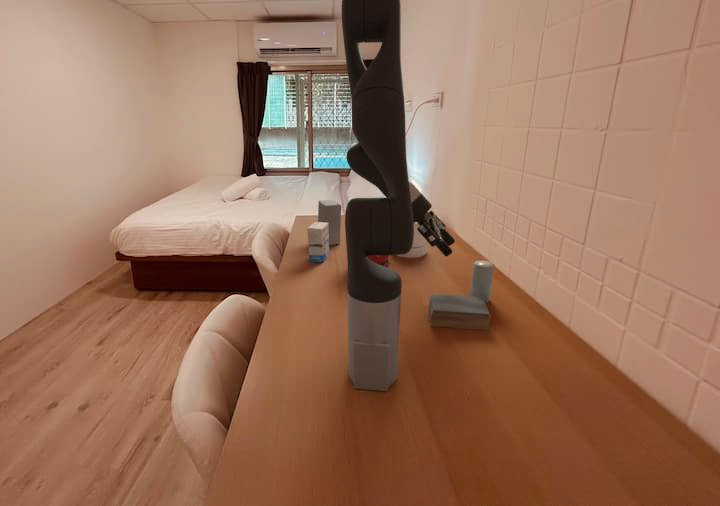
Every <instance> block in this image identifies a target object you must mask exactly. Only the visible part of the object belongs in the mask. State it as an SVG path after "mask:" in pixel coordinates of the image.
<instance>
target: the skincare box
mask: <svg viewBox="0 0 720 506" xmlns="http://www.w3.org/2000/svg"><path fill="white" fill-rule="evenodd" d="M317 204H318V208H317V209H318V210H317V211H318V214H317V218H318V220H317V222H324V223H328V231H329V247H330V246H337V245H336V244H338V245H340V244H341V225H342V222H341V220H342V205H341V204H340V203H339V202H338V201H336V200H334V199H323V200H322V199H321V200H318V203H317Z"/></svg>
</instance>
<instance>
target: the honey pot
mask: <svg viewBox="0 0 720 506" xmlns="http://www.w3.org/2000/svg"><path fill="white" fill-rule="evenodd" d="M418 227H419V224H418V223H417V222H415V223H414V238H413V244H412V248H411V250H410V251H409V252H408V253H406V254H402V255H395V256H397V257H401V258H407V259H408V258H411V259H412V258H413V259H414V258H421V257H423V256H425V255H426V254H427V251H428V250H427V249H428V248H427V247H428V242H427V240H426V239H425V238H424V237H423V236H422V235H421V234H420V232H419V231H418V230H417V228H418Z"/></svg>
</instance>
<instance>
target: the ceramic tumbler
mask: <svg viewBox="0 0 720 506" xmlns="http://www.w3.org/2000/svg"><path fill="white" fill-rule="evenodd" d="M472 266H473V267H472V275H471V282H470V283H471V285H470V292H469V293H470V294H469V296H476V297H483V299H484V301H485V304H488V303H490V300H491V292H492V285H493V278H494V269H495V264H494V263H493V262H492V261H488V260H475V261H474V262H473V265H472Z"/></svg>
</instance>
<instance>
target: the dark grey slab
mask: <svg viewBox="0 0 720 506" xmlns="http://www.w3.org/2000/svg"><path fill="white" fill-rule="evenodd" d="M428 302H429V303H428V312H429V314H428V315H429V322H430V323H429V324H430V327H435V328H436V327H437V328H451V329H453V328H454V329H465V330H479V331H481V330H482V331H489V330H490V325H491V318H492V317H491V314H490V312H489V309H488V306H487V303H485V301H484V299H483V297H476V296H470V295H455V294H439V293H431V294H430V295H429V301H428Z"/></svg>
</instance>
